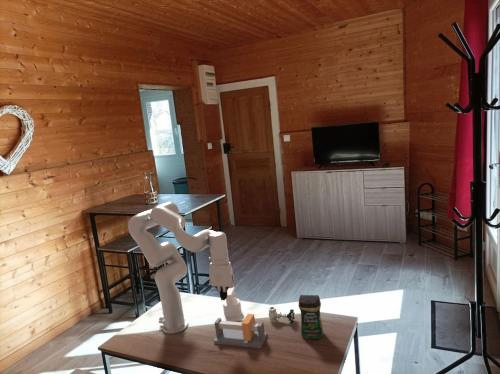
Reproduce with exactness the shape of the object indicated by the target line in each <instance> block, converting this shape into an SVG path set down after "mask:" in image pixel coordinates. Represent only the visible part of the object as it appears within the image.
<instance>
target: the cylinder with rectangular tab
mask: <svg viewBox="0 0 500 374" xmlns="http://www.w3.org/2000/svg"><path fill="white" fill-rule="evenodd" d="M222 309H223V315H224V316H225V317H226V318H236V317H239V316H240V315H241V314H242V306H241V301H240V298H238V297H236V291H235V286H234V287H233V288H229V289H228V290H227V298H226V299H225V300H222Z"/></svg>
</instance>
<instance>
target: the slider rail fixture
mask: <svg viewBox="0 0 500 374" xmlns="http://www.w3.org/2000/svg"><path fill="white" fill-rule="evenodd" d="M242 322H243V321H241V322H240V321H227V320H222V318H221V317H218V318H217V319H216V320H215V321H214V328H215V329H214V330H215V335H216V336H215V338H214V339H213V344H215V345H222V346H225V345H226V346H232V347H233V346H235V347H245V348H251V349H252V348H255V349H261V348H262V346H263V344H264V343H265V341H266V339H267V337H268V332H267V331H265V323H264V321H262V320H260V321H259V322H258V323H256V322H255V323H252V324H251V331H255V333H254V335H253V337H252V338H251V340H250V341H248V340H244V338H243V330H242Z"/></svg>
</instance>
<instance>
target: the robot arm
mask: <svg viewBox="0 0 500 374" xmlns="http://www.w3.org/2000/svg"><path fill="white" fill-rule="evenodd" d="M179 213H180V210H179V207H178V205H177V204H176V203H174V202H172V201H166V202H164V203H160V204H158V205H155V206H154V207H153V208H151V209H148V210H145V211H141V212H139V213H137V214H135V215H133V216H132V217H131V218H130V219H129V221H128V224H127V227H128V233H129V234H130V236H131V237H132V239H133V240H134V242H135V243H136V244H137V245H138V247H139V249H140V250H141V252H142V254H143V255H144V257H145V259H146V261H147V262H148V264H149V265H150V266H151V267H152V268H157V267H159V266H160V267H161V265H163V264H166V263H167V264H166V265H164V266H162V267H161V268H159V269H158V270H157V271H156V272H155V274H154V281H155V284H156V286H157V289H158V293H159V298H160V303H161V309H162V314H163V316H160V317H159V318H158V324H162V332H163V333H165V334H168V335H170V334H171V335H173V334H177V333H180V332H182V331H184V330H185V329H186V328H187V327H188V326H189V322H188V320H187V319H186V318H185V315H184V310H183V304H182V297H181V292H180V290H179V288H178V287H177V286H176V283H177V282H179V281H180V280H181V279H183V278H185V276H186V275H187V273H188V267H187V264H186V261H185V260H184V259H183V257H182V255H181V253H180V252H179V250H178V248H177V247H176V246H175V244H174V243H172V242H170V241H163V242H161V243H159V242H158V240H157V239H156V236H154V234H152V233H151V232H150V231H147V230H148V229H151V228H154V227H155V226H158V225H159V226H160V227H162V228H164V229H166V230H168V231H169V232H171V233H172V234H173V237H174V239H175V240H176V242H177V244H178V245H179V246H181V247H182V248H184V249H186V250H187V251H189V252H192V253H199V252H202V251H203V250H205V249H206V248H209V250H210V256H209V257H208V261H210V263H209V268H208V269H209V270H208V271H209V276H208V277H209V285H210V286H211V287H214V288H216V289H217V291H218V292H219V298H220V301H225V300H226V298H227V290H228V289H229V288H233V287H234V288H235V284H234V282H235V277H234V271H233V267H232V263H231V262H230V261H229V250H228V240H227V235H226V233H225V232H223V231H214V230H212V229H208V228H207V229H203V230H201V231H199V232H197V233H195V234H193V235H192V234H190V233H189V232H187V231H186V230H184V228H185V226H186V218H185V217H184V216H182V215H180V214H179Z"/></svg>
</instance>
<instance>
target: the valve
mask: <svg viewBox="0 0 500 374" xmlns="http://www.w3.org/2000/svg"><path fill="white" fill-rule="evenodd" d="M295 313H296V312H295V311H294V309H292V308H291V309H290V310H289V312H288V313H287V314H286V313H282V312H281V311H277V308H276V307H275V306H270V307H268V317H269V321H270V323H274V324H275V323H277V322H278V319H280V320H281V318H287V319H288V321H289V324H290V325H291V324H294V323H293V322H294V320H295V319H296V317H295V315H296V314H295Z"/></svg>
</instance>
